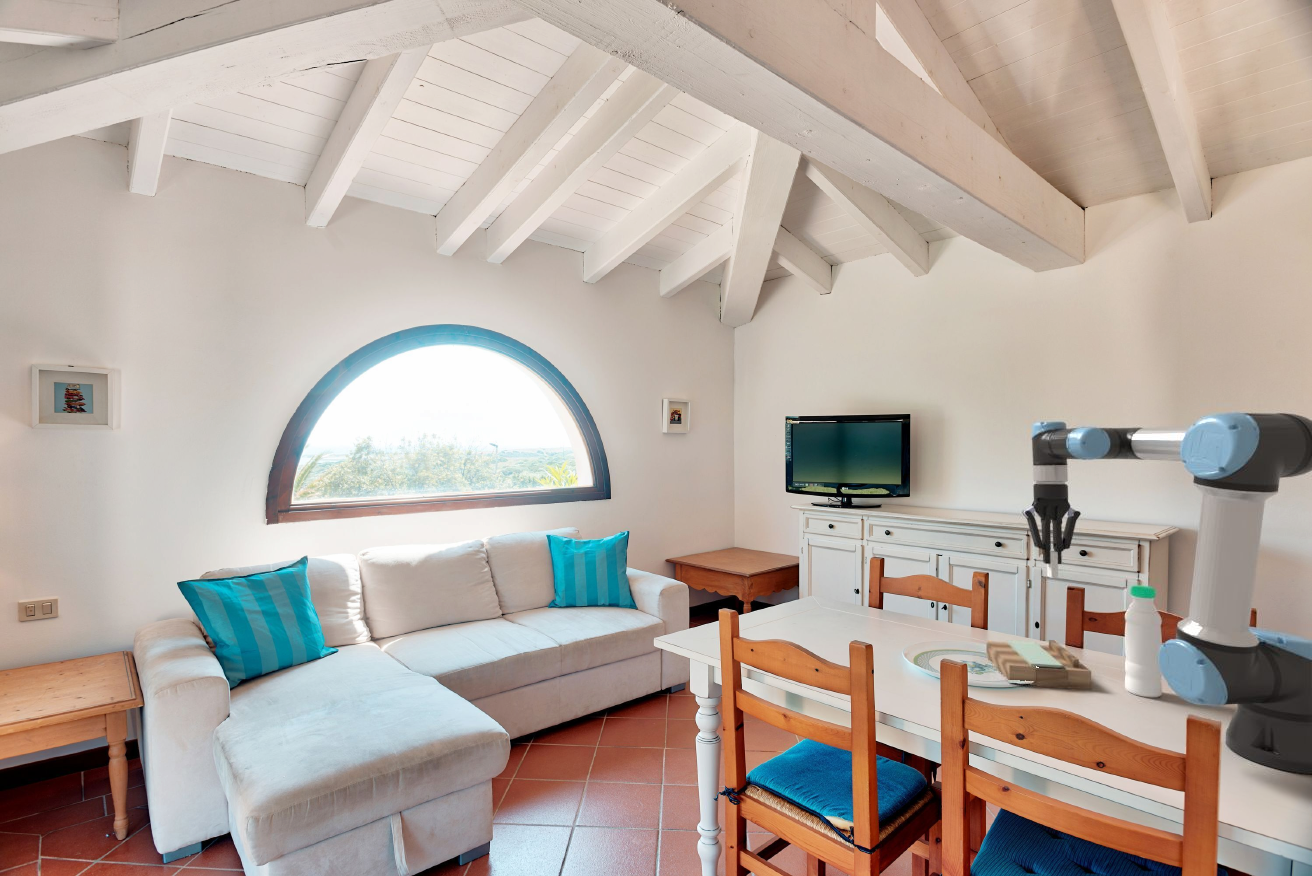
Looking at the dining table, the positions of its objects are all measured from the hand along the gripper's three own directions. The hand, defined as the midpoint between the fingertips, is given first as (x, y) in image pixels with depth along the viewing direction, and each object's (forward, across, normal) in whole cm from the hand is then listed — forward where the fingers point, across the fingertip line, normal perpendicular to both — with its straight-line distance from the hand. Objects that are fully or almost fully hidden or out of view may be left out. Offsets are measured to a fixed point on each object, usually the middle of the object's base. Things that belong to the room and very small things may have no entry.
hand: (1052, 577), depth 167 cm
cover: (+21, +3, -4) cm, 22 cm away
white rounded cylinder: (+23, +1, -4) cm, 23 cm away
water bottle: (+26, -17, +6) cm, 31 cm away
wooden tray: (+25, +3, -4) cm, 26 cm away
